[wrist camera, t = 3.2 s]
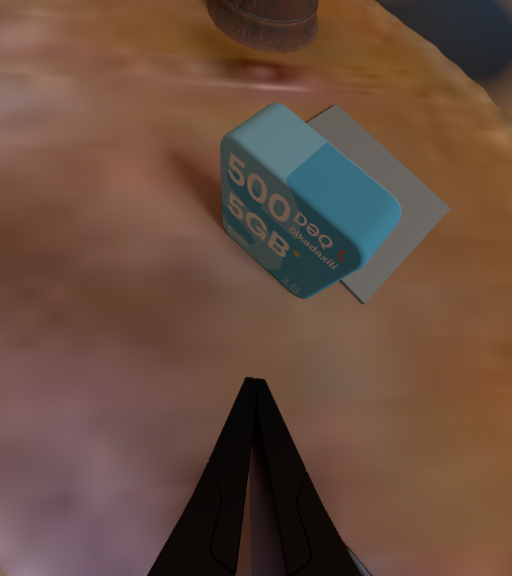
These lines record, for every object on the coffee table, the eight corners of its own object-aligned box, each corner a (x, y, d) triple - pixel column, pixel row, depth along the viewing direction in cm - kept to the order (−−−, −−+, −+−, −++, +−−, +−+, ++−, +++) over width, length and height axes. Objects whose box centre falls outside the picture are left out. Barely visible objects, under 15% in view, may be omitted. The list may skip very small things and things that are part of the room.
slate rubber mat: (448, 209, 29) (451, 208, 29) (362, 304, 24) (364, 303, 23) (335, 106, 31) (336, 103, 31) (233, 171, 26) (233, 168, 25)
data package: (221, 229, 24) (217, 122, 12) (248, 206, 25) (268, 89, 13) (301, 302, 23) (377, 260, 11) (325, 274, 24) (416, 211, 12)
